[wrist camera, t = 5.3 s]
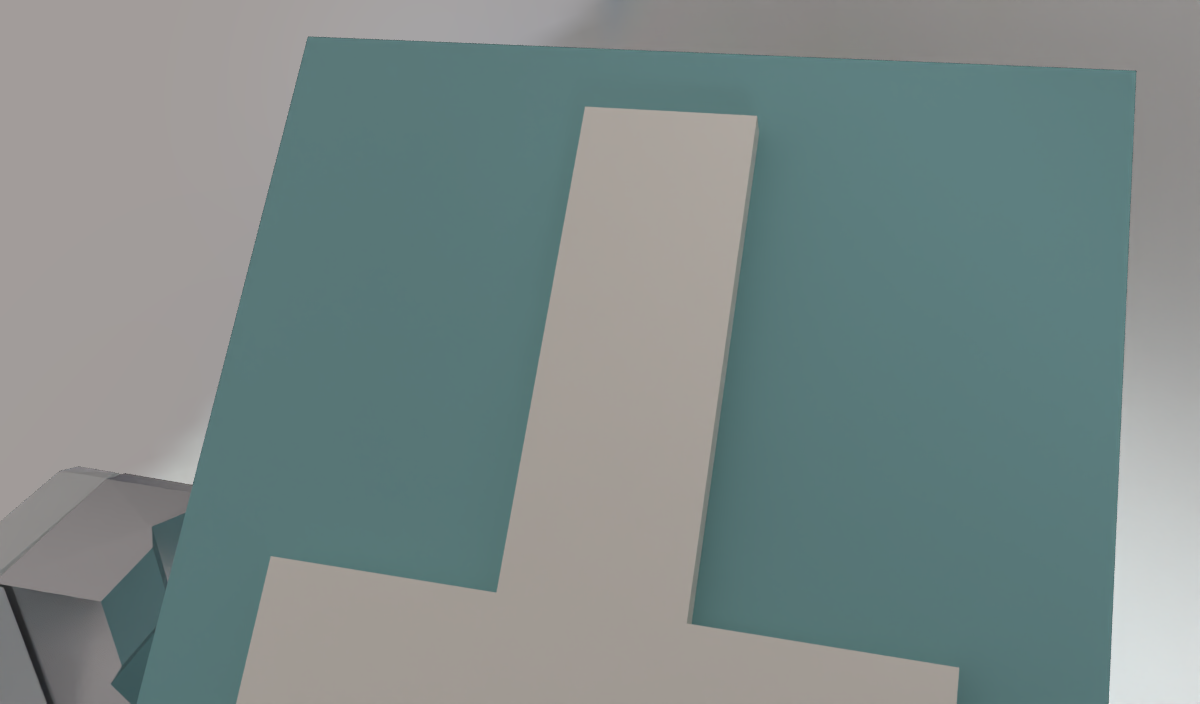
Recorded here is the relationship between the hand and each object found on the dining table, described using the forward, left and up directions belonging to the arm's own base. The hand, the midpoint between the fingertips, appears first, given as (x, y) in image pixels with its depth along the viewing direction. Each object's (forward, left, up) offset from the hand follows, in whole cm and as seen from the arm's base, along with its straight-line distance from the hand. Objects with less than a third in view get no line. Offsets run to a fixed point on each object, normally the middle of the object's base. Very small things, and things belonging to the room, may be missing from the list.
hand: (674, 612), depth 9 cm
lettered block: (-1, 0, -6) cm, 6 cm away
